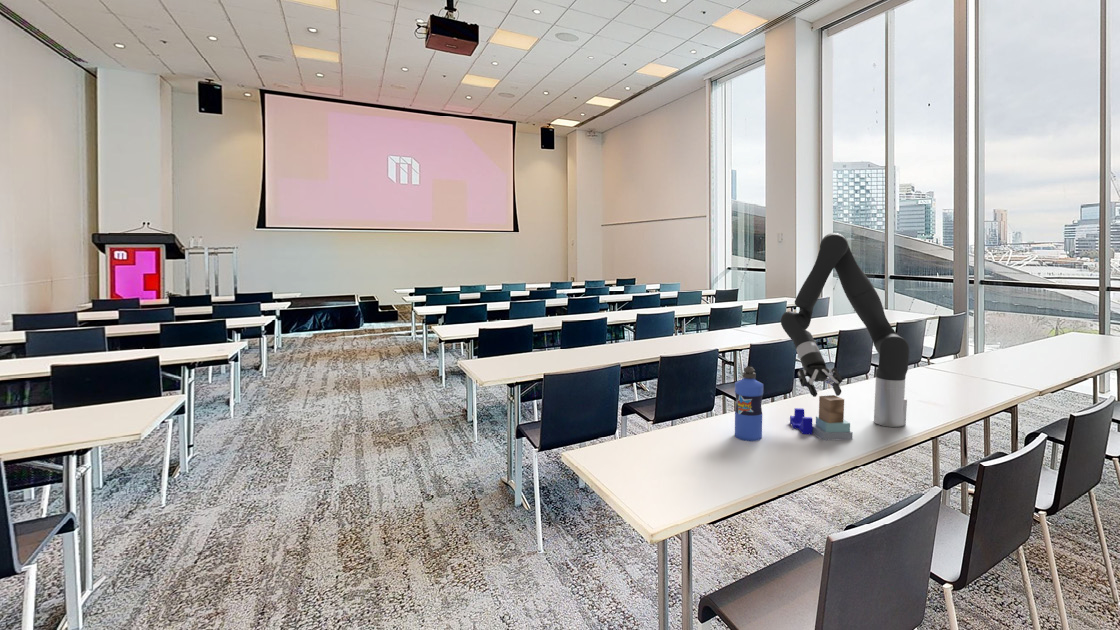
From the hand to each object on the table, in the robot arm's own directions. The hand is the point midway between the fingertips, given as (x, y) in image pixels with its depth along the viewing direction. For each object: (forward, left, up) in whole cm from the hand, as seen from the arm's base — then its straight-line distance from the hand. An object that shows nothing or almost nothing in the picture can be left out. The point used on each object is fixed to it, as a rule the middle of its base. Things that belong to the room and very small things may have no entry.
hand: (827, 395), depth 186 cm
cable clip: (+6, -6, -14) cm, 17 cm away
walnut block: (0, +2, -8) cm, 9 cm away
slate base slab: (-1, +1, -14) cm, 15 cm away
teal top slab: (-1, +2, -11) cm, 12 cm away
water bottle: (+28, -1, -14) cm, 31 cm away
